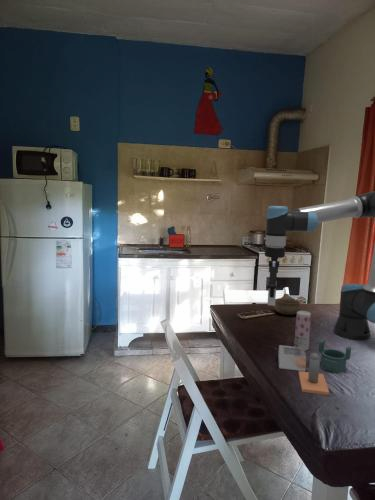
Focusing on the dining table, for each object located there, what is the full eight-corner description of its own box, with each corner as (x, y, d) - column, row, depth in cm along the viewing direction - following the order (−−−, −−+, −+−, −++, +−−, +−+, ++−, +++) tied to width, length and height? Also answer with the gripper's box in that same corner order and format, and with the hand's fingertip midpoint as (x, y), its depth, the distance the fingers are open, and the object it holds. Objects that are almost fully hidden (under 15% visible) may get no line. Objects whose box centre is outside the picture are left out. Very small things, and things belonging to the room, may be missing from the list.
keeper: (323, 376, 121) (325, 347, 119) (328, 395, 109) (331, 363, 108) (298, 373, 122) (300, 345, 121) (301, 391, 111) (304, 360, 109)
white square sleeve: (302, 360, 133) (303, 347, 132) (305, 371, 124) (306, 357, 124) (278, 357, 135) (279, 345, 134) (279, 368, 126) (279, 355, 126)
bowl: (266, 304, 199) (272, 288, 198) (290, 312, 199) (296, 295, 198) (273, 314, 181) (280, 296, 180) (299, 322, 182) (306, 304, 180)
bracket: (315, 361, 132) (317, 339, 131) (339, 361, 133) (341, 339, 131) (326, 373, 123) (328, 349, 122) (352, 373, 124) (354, 349, 122)
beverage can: (310, 347, 145) (312, 312, 143) (307, 352, 140) (309, 315, 138) (296, 344, 148) (298, 309, 146) (292, 349, 143) (294, 313, 141)
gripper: (266, 242, 148) (263, 291, 151) (263, 250, 124) (260, 308, 127) (285, 243, 146) (281, 293, 149) (285, 251, 122) (281, 310, 125)
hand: (271, 300), depth 138 cm, fingers open, 13 cm apart
